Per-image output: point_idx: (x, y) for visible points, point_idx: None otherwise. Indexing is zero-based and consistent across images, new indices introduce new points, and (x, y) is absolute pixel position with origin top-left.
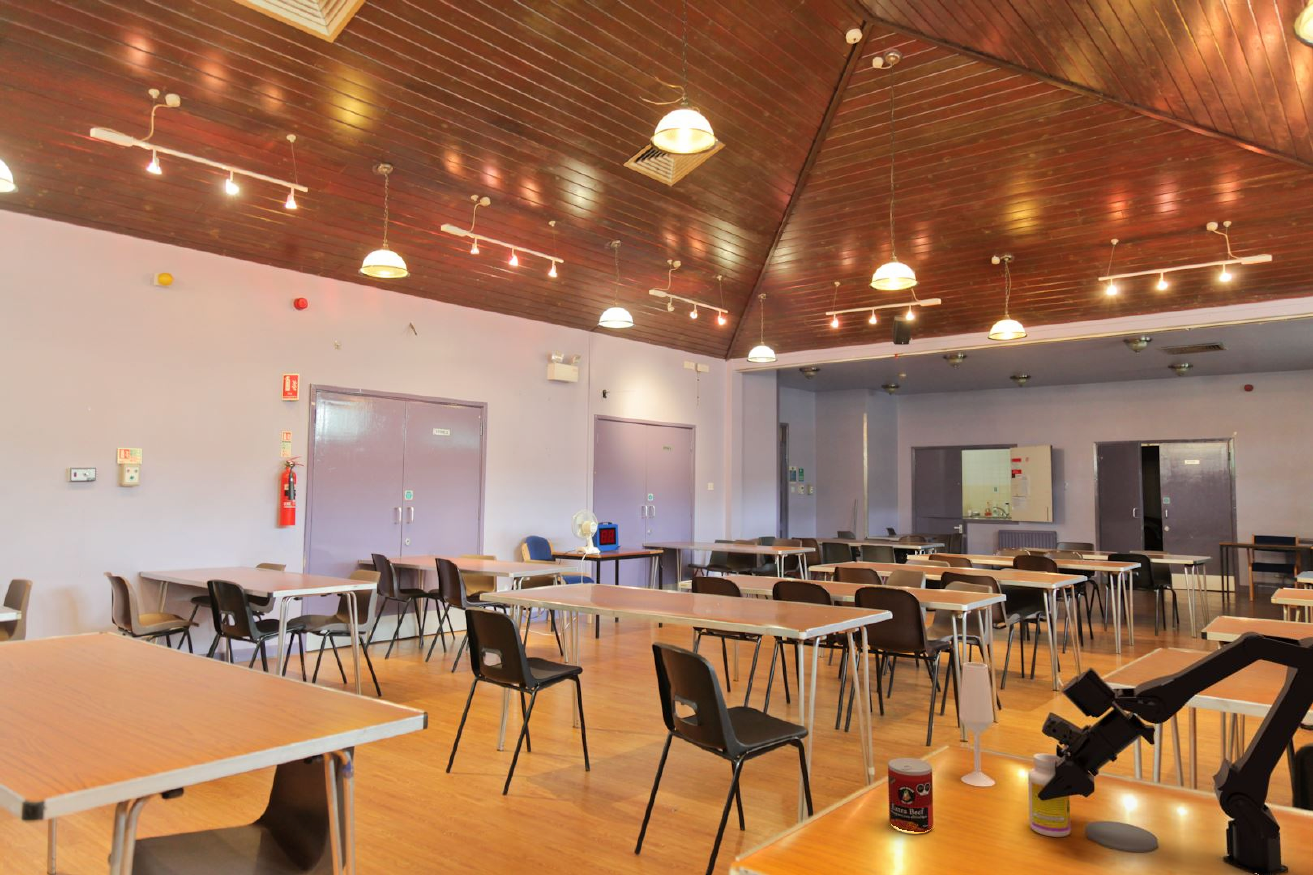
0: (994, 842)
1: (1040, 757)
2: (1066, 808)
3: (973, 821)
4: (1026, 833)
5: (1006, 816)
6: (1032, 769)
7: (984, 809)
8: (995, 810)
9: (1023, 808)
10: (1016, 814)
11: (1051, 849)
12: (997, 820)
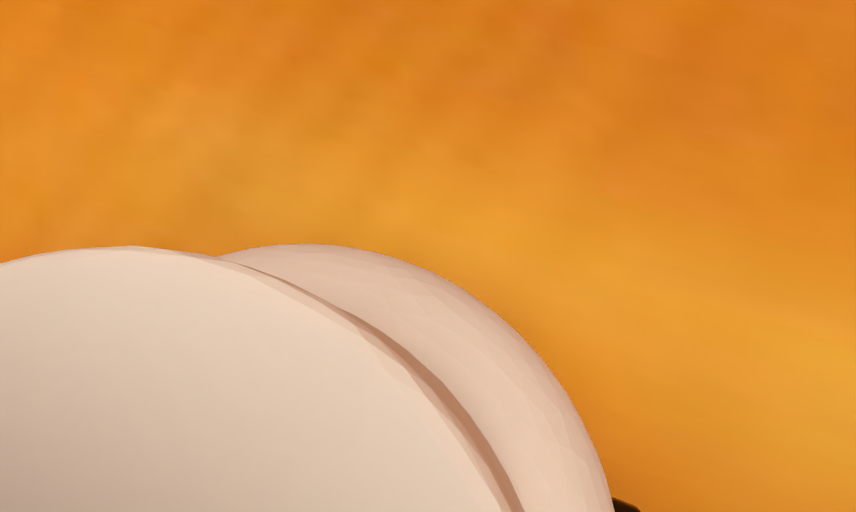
0: (210, 80)
1: (37, 436)
2: None
3: (498, 32)
4: None
5: (619, 247)
6: (370, 307)
7: (722, 136)
8: (720, 203)
9: (817, 421)
10: (673, 328)
11: None
12: (536, 172)
